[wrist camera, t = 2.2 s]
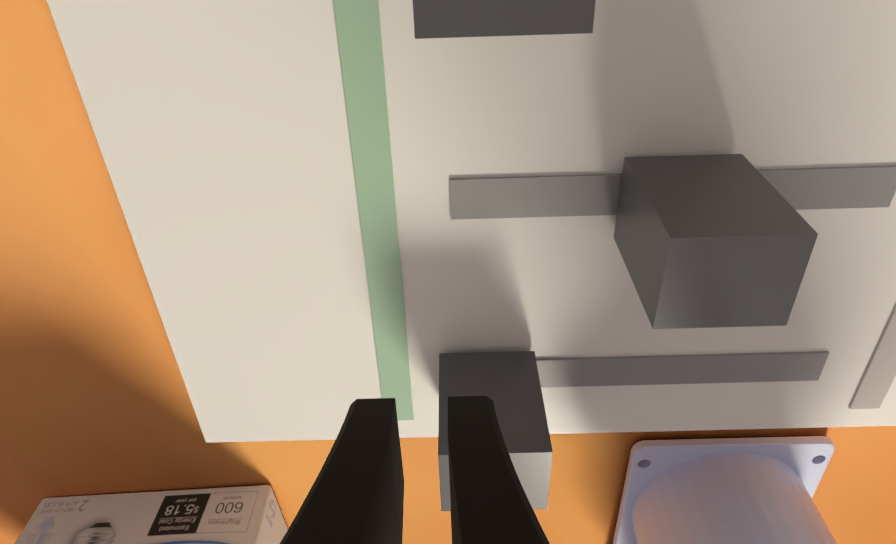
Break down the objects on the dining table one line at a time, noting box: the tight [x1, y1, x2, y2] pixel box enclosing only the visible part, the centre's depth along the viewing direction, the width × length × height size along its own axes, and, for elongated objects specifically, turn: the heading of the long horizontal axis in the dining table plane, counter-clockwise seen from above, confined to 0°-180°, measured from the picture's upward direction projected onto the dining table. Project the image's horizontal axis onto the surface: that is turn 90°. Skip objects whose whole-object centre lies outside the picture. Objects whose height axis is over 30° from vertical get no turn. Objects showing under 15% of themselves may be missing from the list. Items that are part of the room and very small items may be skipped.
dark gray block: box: [614, 154, 818, 329], centre depth 15 cm, size 2×3×4 cm
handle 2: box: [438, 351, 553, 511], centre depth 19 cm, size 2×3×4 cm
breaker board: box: [47, 0, 896, 443], centre depth 18 cm, size 19×28×2 cm
